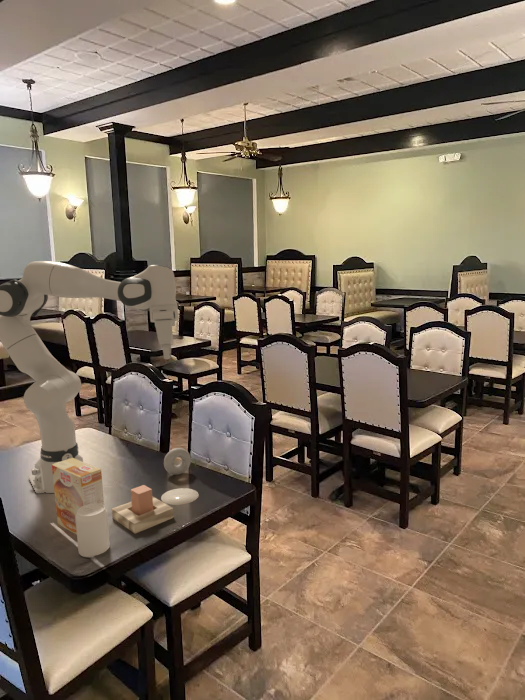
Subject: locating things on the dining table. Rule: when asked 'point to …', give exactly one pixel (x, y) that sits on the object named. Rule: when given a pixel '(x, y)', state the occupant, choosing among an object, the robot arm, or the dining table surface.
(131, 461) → the dining table surface
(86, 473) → the coffeecake box
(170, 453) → the donut
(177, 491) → the cream oval shape
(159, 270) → the robot arm
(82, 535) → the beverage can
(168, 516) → the holder
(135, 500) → the block
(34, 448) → the dining table surface
